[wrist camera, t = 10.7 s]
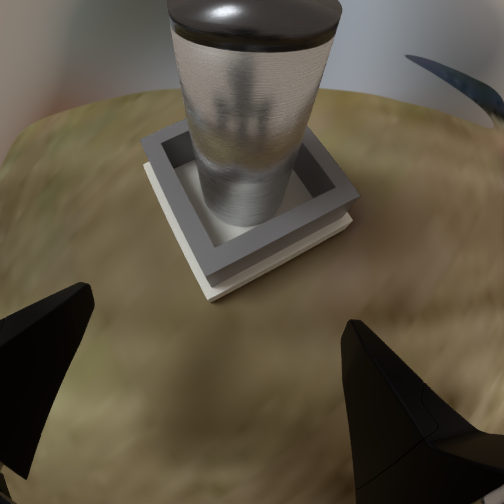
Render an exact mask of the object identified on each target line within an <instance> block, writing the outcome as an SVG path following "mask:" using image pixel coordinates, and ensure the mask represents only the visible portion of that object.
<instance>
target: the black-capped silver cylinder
mask: <svg viewBox="0 0 504 504" xmlns="http://www.w3.org/2000/svg"><path fill="white" fill-rule="evenodd" d="M167 6H168V13H169V20H170V26H171V33H172V39H173V45H174V51H175V57H176V63H177V69H178V74H179V79H180V85H181V91H182V96H183V102H184V107H185V112H186V117H187V123H188V128H189V133H190V138H191V143H192V147H193V152H194V157H195V162H196V167H197V171H198V176H199V181H200V185H201V190H202V194H203V199H204V202H205V204H206V206H207V208H208V209H209V211H210V212H211V213H212V214H213V215H214V216H215V217H216V218H217V219H219V220H221V221H222V222H224V223H227V224H229V225H233V226H239V227H248V226H254V225H258V224H261V223H263V222H265V221H266V220H268V219H270V218H271V217H272V216H273V215H274V214H275V213H276V212H277V211H278V209H279V208H280V206H281V203H282V201H283V198H284V195H285V191H286V188H287V185H288V182H289V179H290V176H291V173H292V170H293V167H294V164H295V161H296V158H297V155H298V152H299V148H300V145H301V142H302V139H303V136H304V133H305V130H306V127H307V124H308V120H309V117H310V114H311V111H312V108H313V105H314V101H315V98H316V95H317V92H318V89H319V86H320V82H321V79H322V76H323V72H324V69H325V66H326V63H327V60H328V56H329V53H330V50H331V47H332V44H333V40H334V37H335V34H336V30H337V27H338V24H339V20H340V17H341V14H342V6H341V4H340V3H339V1H338V0H167Z"/></svg>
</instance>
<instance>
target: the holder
mask: <svg viewBox="0 0 504 504" xmlns="http://www.w3.org/2000/svg"><path fill="white" fill-rule="evenodd" d="M140 142H141V144H142V146H143V149H144V151H145V153H146V155H147V158H148V160H149V162H147V163H145V164H143V166H144V168H145V171H146V173H147V175H148V178H149V180H150V182H151V185H152V187H153V189H154V191H155V193H156V196H157V198H158V200H159V202H160V205H161V207H162V209H163V211H164V213H165V215H166V218H167V220H168V222H169V224H170V226H171V228H172V230H173V232H174V234H175V236H176V239H177V241H178V243H179V245H180V247H181V249H182V251H183V253H184V255H185V257H186V259H187V261H188V263H189V265H190V267H191V269H192V271H193V273H194V275H195V277H196V279H197V281H198V283H199V285H200V287H201V288H202V290H203V292H204V294H205V296H206V298H207V300H208V301H209V302H210V303H211V302H213V301H215V300H217V299H219V298H220V297H222V296H224V295H226V294H228V293H230V292H232V291H234V290H235V289H237V288H239V287H241V286H243V285H245V284H247V283H249V282H250V281H252V280H254V279H256V278H258V277H260V276H261V275H263V274H265V273H267V272H269V271H271V270H272V269H274V268H276V267H278V266H280V265H282V264H283V263H285V262H287V261H289V260H291V259H292V258H294V257H296V256H298V255H300V254H301V253H303V252H305V251H307V250H309V249H310V248H312V247H314V246H316V245H318V244H319V243H321V242H323V241H325V240H326V239H328V238H330V237H332V236H333V235H335V234H337V233H339V232H341V231H342V230H344V229H345V228H346V227H347V226H348V225H349V224H350V223H351V222H352V221H353V220H352V218H351V217H350V215H349V214H348V212H347V211H348V210H349V209H350V208H351V206H352V205H353V204H354V203H355V202H356V200H357V199H358V198H359V197H360V194H359V193H358V191H357V190H356V189H355V187H354V186H353V184H352V183H351V182H350V180H349V179H348V177H347V176H346V175H345V173H344V172H343V171H342V169H341V168H340V167H339V165H338V164H337V163H336V161H335V160H334V159H333V157H332V156H331V155H330V154H329V152H328V151H327V150H326V148H325V147H324V146H323V145H322V143H321V142H320V141H319V140H318V138H317V137H316V136H315V135H314V134H313V132H312V131H311V130H310V129H309V127H308V126H307V127H306V130H305V133H304V136H303V139H302V142H301V145H300V148H299V152H298V155H297V158H296V161H295V164H294V167H293V170H292V173H291V176H290V179H289V182H288V185H287V188H286V191H285V195H284V198H283V201H282V203H281V206H280V208H279V209H278V211H277V212H276V213H275V214H274V215H273V216H272V217H271V218H270V219H268V220H266V221H265V222H263V223H261V224H258V225H254V226H248V227H239V226H233V225H229V224H227V223H224V222H222V221H221V220H219V219H217V218H216V217H215V216H214V215H213V214H212V213H211V212H210V211H209V209H208V208H207V206H206V204H205V202H204V199H203V194H202V190H201V185H200V181H199V176H198V171H197V167H196V162H195V157H194V152H193V147H192V143H191V138H190V133H189V128H188V123H187V118H186V119H183V120H181V121H179V122H176V123H174V124H172V125H170V126H167V127H165V128H163V129H161V130H159V131H157V132H154V133H152V134H150V135H148V136H146V137H144V138H142V139H140Z"/></svg>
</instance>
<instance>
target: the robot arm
mask: <svg viewBox="0 0 504 504" xmlns="http://www.w3.org/2000/svg"><path fill="white" fill-rule="evenodd" d="M94 306H95V302H94V298H93V294H92V289H91V286H90V285H89V284H88V283H83V282H79V283H76V284H74V285H72V286H70V287H68V288H65V289H63V290H61V291H59V292H57V293H55V294H53V295H50V296H48V297H46V298H44V299H42V300H40V301H38V302H36V303H34V304H32V305H29V306H27V307H25V308H23V309H21V310H19V311H17V312H15V313H13V314H11V315H9V316H7V317H6V318H3V319H1V320H0V472H1V469H2V467H3V465H5V466H6V467H8V468H9V469H10V470H12V471H13V472H15V473H16V474H18V475H19V476H21V477H22V478H24V479H25V480H27V478H28V475H29V471H30V468H31V465H32V461H33V458H34V455H35V452H36V449H37V446H38V443H39V440H40V437H41V433H42V431H43V428H44V426H45V423H46V420H47V418H48V415H49V412H50V410H51V407H52V405H53V402H54V400H55V398H56V395H57V393H58V390H59V388H60V386H61V383H62V381H63V379H64V377H65V374H66V372H67V370H68V368H69V366H70V364H71V361H72V359H73V357H74V355H75V353H76V351H77V349H78V347H79V345H80V342H81V340H82V338H83V335H84V333H85V330H86V327H87V325H88V322H89V320H90V317H91V315H92V312H93V310H94ZM341 359H342V381H343V389H344V396H345V402H346V409H347V417H348V424H349V432H350V440H351V449H352V458H353V469H354V480H355V490H356V492H355V494H356V504H504V435H499V434H489V433H485V432H482V431H480V430H478V429H476V428H475V427H474V426H472V425H471V424H470V423H469V422H468V421H466V420H465V419H464V418H463V417H462V416H461V415H459V414H458V413H457V412H456V411H455V410H453V409H452V408H451V407H450V406H449V405H448V404H447V403H445V402H444V401H443V400H442V399H441V398H440V397H439V396H438V395H437V394H436V393H435V392H434V391H433V390H432V389H431V388H430V387H429V386H428V385H427V384H426V383H424V382H423V380H422V379H421V378H420V377H419V376H418V375H417V374H416V373H415V372H414V371H413V370H412V369H411V368H410V367H409V366H408V365H407V364H406V363H404V362H403V361H402V360H401V359H400V358H399V357H398V356H397V355H396V354H395V353H394V352H393V351H392V350H391V349H390V348H389V347H388V346H387V345H386V344H385V343H384V342H383V341H382V340H381V339H380V338H379V337H378V336H377V335H376V334H375V333H374V332H373V331H372V330H371V329H370V328H369V327H368V326H367V325H365V324H364V323H363V322H362V321H361V320H354V319H350V320H349V321H348V322H347V325H346V327H345V330H344V332H343V335H342V337H341ZM0 504H17V503H15V502H14V501H12V499H11V496H10V494H9V491H8V488H7V485H6V482H5V479H4V475H3V474H2V473H0Z"/></svg>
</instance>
